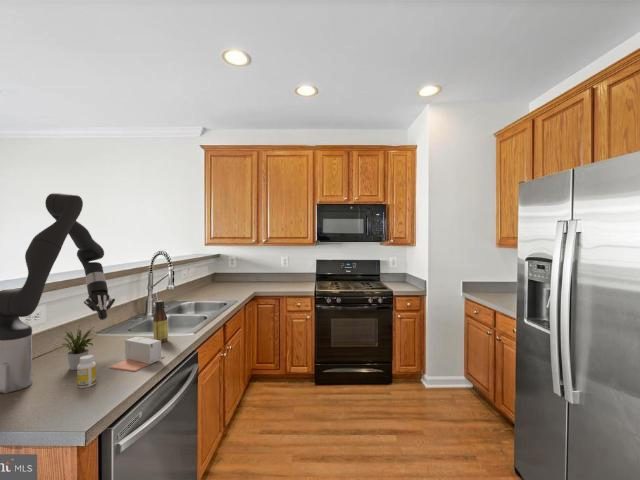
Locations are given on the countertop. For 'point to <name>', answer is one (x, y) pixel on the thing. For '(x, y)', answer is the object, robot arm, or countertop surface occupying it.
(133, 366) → the plate
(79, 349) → the house plant
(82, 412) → the countertop surface
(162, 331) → the sauce bottle
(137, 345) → the skincare box
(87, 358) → the supplement bottle
